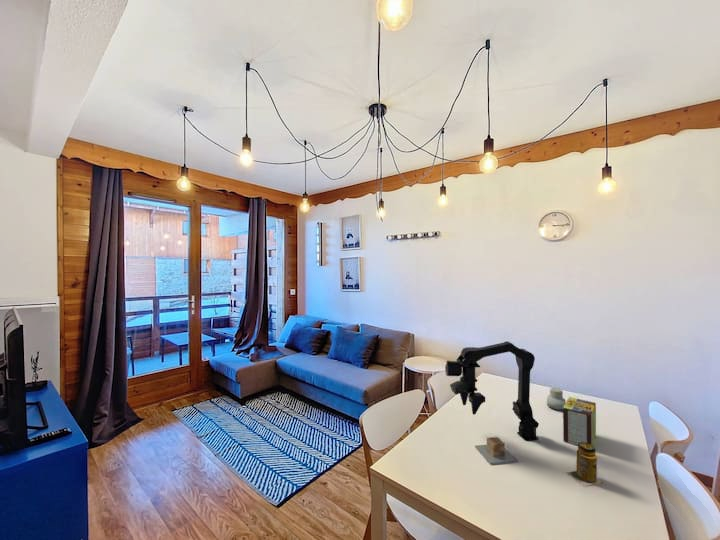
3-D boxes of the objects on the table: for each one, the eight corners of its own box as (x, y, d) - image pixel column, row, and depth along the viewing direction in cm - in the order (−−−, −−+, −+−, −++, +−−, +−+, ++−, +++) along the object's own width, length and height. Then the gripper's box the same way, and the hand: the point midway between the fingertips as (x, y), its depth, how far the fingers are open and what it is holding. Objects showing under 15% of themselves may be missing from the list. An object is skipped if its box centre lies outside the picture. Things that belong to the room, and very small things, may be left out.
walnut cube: (497, 448, 130) (497, 436, 130) (504, 455, 125) (504, 443, 125) (486, 449, 130) (486, 437, 129) (493, 456, 125) (493, 444, 125)
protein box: (596, 436, 140) (596, 402, 140) (591, 451, 129) (591, 414, 129) (568, 428, 147) (568, 396, 147) (562, 441, 136) (562, 407, 136)
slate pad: (500, 444, 134) (500, 443, 134) (518, 461, 122) (518, 460, 122) (474, 446, 132) (474, 445, 132) (490, 464, 121) (490, 463, 121)
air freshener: (548, 402, 176) (548, 384, 175) (565, 405, 171) (565, 388, 171) (546, 409, 167) (546, 391, 167) (564, 413, 162) (564, 394, 162)
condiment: (603, 482, 110) (603, 449, 110) (584, 486, 108) (584, 453, 108) (584, 469, 117) (584, 438, 117) (566, 473, 115) (565, 441, 115)
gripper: (444, 370, 150) (444, 401, 150) (461, 384, 131) (461, 420, 131) (465, 369, 151) (465, 400, 151) (486, 383, 133) (486, 419, 133)
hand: (469, 409), depth 142 cm, fingers open, 9 cm apart
